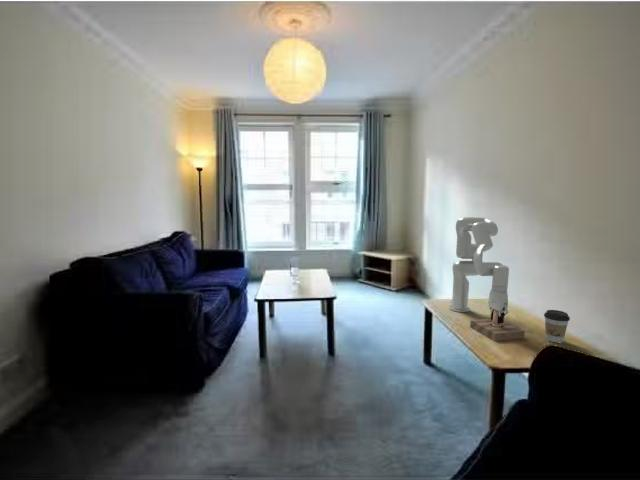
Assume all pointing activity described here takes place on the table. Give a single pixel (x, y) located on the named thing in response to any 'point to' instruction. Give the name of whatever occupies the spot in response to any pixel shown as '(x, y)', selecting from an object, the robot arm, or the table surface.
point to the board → (497, 330)
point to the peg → (496, 319)
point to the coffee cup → (556, 325)
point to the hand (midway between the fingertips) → (496, 321)
